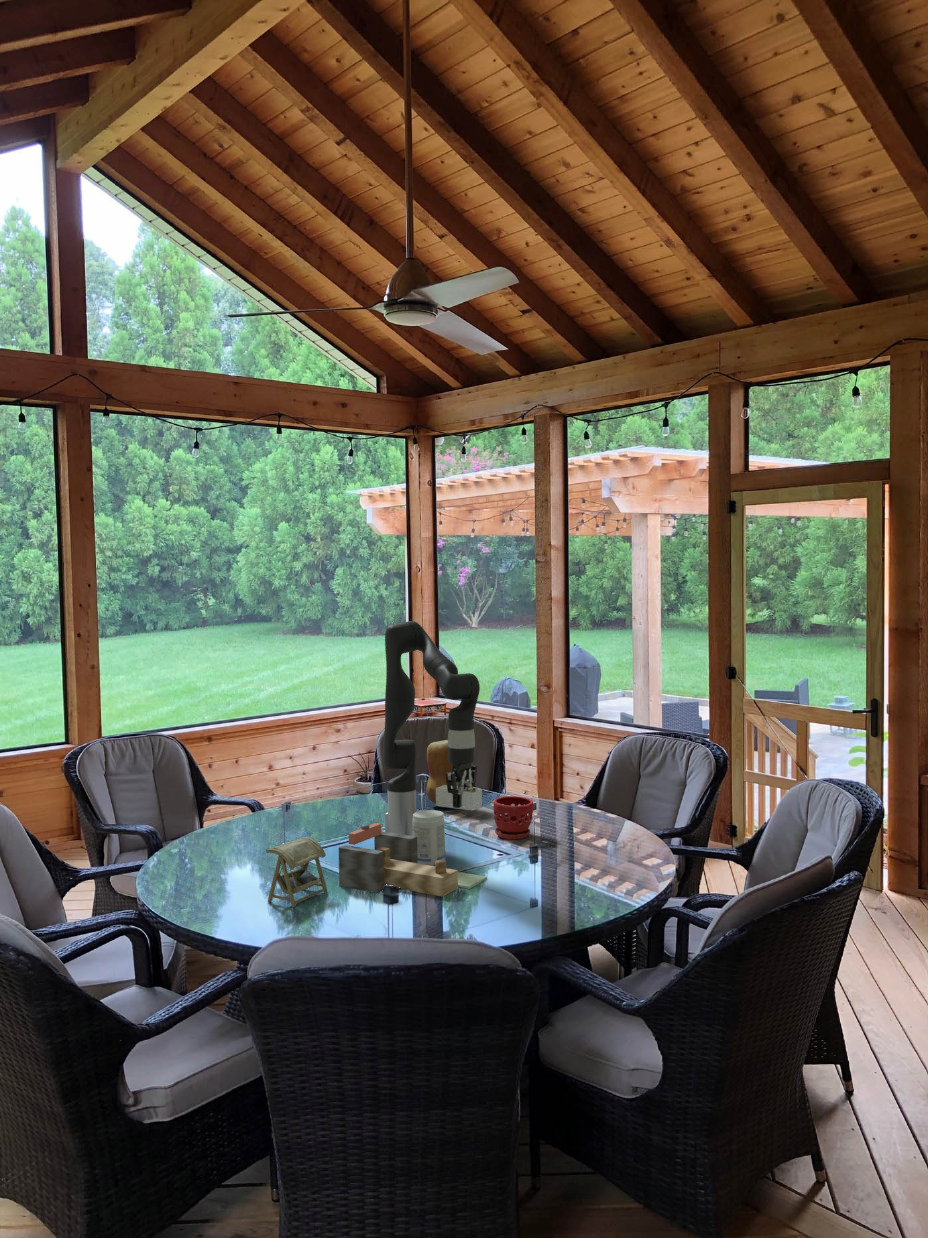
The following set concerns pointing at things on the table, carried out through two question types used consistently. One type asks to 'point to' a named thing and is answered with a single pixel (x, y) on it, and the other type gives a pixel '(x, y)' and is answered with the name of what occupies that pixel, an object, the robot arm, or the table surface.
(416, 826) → the supplement tub
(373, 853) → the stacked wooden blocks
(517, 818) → the plant pot
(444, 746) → the butternut squash
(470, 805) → the block with brass knob
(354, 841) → the latch bar
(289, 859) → the swing bench
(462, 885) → the mat
